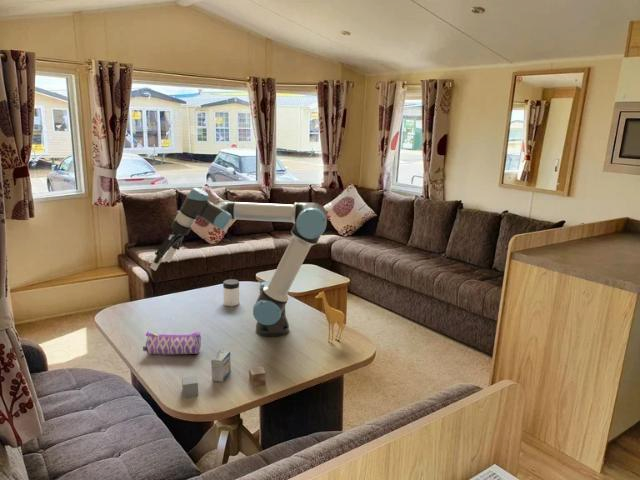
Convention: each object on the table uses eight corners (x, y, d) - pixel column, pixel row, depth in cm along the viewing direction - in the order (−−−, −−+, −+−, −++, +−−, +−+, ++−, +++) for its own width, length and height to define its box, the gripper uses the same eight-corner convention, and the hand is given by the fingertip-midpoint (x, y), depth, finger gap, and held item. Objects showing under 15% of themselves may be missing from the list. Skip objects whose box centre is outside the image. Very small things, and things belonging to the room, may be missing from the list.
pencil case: (143, 358, 190) (141, 336, 188) (149, 347, 199) (148, 326, 197) (199, 358, 192) (198, 336, 189) (203, 347, 201) (202, 326, 198)
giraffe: (317, 349, 202) (318, 294, 196) (311, 345, 206) (312, 290, 199) (347, 340, 211) (349, 287, 205) (341, 336, 215) (343, 284, 209)
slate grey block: (196, 387, 171) (196, 375, 170) (198, 395, 166) (197, 382, 165) (182, 390, 169) (182, 377, 168) (183, 397, 165) (182, 384, 163)
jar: (239, 306, 245) (239, 284, 242) (223, 307, 243) (223, 284, 240) (238, 299, 254) (238, 278, 251) (223, 300, 252) (222, 279, 249)
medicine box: (222, 382, 175) (222, 361, 173) (211, 380, 176) (210, 359, 173) (231, 371, 182) (230, 351, 180) (220, 370, 183) (219, 349, 181)
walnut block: (262, 378, 179) (262, 366, 177) (265, 385, 174) (265, 372, 173) (249, 380, 177) (249, 368, 176) (252, 387, 172) (251, 374, 171)
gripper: (186, 213, 206) (164, 252, 211) (162, 223, 182) (138, 267, 187) (201, 222, 206) (179, 261, 211) (179, 233, 182) (154, 277, 187)
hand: (159, 264), depth 199 cm, fingers open, 13 cm apart
